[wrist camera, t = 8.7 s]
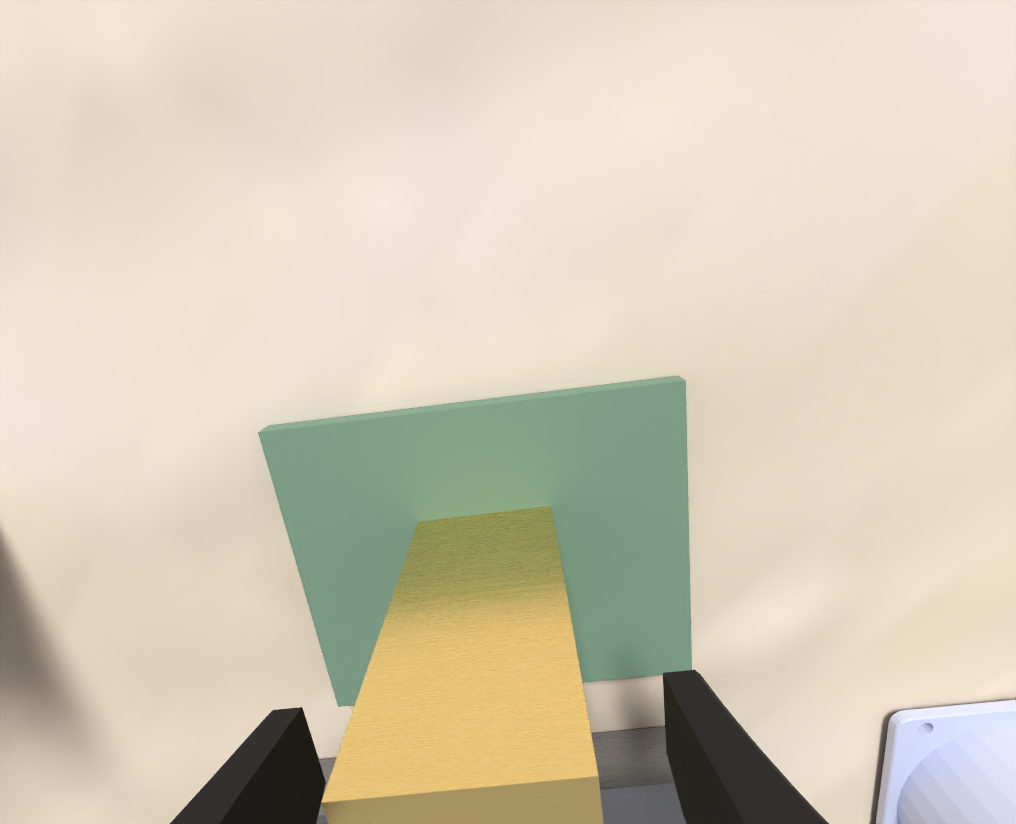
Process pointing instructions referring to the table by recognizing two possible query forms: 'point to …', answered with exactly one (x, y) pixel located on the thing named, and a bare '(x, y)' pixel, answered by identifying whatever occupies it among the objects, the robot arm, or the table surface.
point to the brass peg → (472, 687)
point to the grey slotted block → (620, 778)
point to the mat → (497, 488)
